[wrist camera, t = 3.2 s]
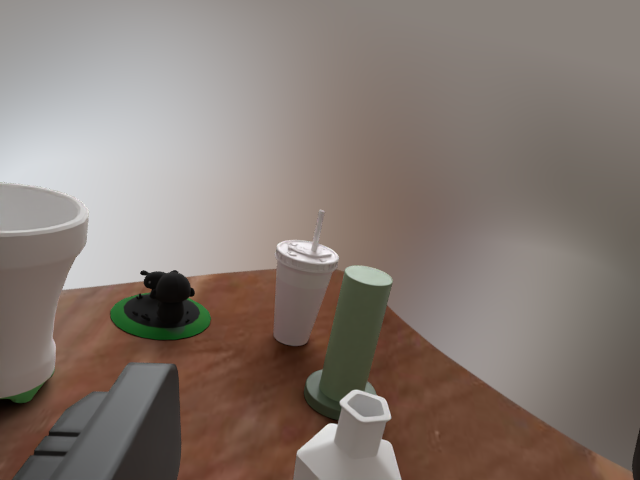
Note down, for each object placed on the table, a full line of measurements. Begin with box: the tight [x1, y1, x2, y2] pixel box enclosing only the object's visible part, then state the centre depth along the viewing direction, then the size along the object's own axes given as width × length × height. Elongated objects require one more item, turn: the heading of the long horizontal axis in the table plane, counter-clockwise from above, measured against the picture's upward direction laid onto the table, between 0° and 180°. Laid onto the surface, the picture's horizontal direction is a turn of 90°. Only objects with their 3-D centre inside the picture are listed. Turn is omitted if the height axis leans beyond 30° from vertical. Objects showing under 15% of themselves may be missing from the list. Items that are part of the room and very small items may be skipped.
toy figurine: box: [111, 270, 211, 340], centre depth 56 cm, size 10×10×6 cm
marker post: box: [304, 266, 393, 420], centre depth 47 cm, size 6×6×12 cm
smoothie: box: [273, 210, 339, 346], centre depth 56 cm, size 6×6×14 cm
